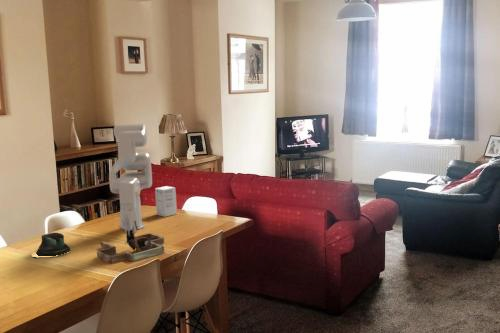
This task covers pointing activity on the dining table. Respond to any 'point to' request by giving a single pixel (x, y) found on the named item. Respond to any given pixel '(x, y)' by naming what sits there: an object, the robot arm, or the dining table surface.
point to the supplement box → (166, 201)
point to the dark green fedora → (52, 245)
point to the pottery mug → (140, 244)
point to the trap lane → (110, 256)
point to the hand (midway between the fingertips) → (130, 242)
